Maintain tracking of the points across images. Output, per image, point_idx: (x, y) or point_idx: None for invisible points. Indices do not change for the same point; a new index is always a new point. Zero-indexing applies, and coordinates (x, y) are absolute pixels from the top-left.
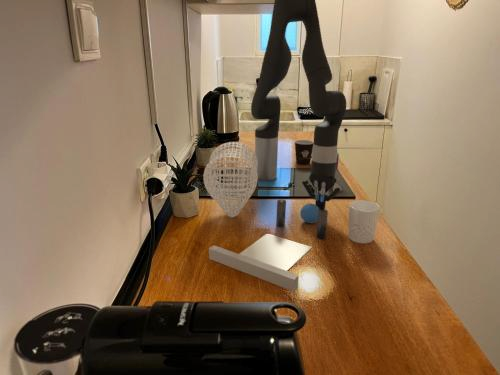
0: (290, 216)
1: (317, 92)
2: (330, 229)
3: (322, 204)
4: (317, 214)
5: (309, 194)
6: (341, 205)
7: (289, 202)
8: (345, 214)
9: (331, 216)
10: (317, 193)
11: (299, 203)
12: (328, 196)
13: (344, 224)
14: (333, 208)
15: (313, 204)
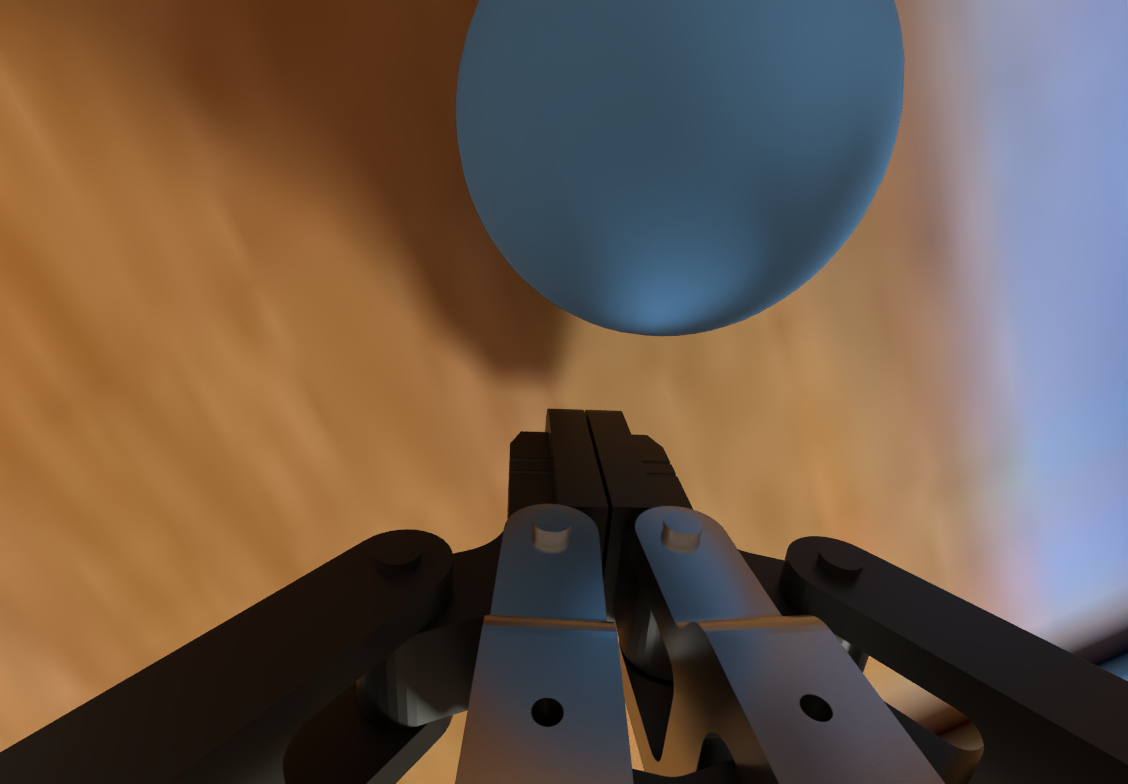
0: (952, 186)
1: None
2: (231, 41)
3: (538, 497)
4: (471, 24)
5: (919, 583)
6: (453, 780)
7: (1025, 581)
8: None
9: (428, 484)
10: (722, 624)
11: None
12: (354, 635)
13: (156, 342)
14: None
15: (664, 171)
